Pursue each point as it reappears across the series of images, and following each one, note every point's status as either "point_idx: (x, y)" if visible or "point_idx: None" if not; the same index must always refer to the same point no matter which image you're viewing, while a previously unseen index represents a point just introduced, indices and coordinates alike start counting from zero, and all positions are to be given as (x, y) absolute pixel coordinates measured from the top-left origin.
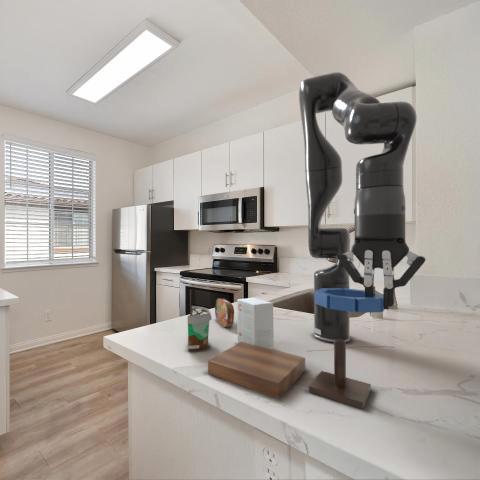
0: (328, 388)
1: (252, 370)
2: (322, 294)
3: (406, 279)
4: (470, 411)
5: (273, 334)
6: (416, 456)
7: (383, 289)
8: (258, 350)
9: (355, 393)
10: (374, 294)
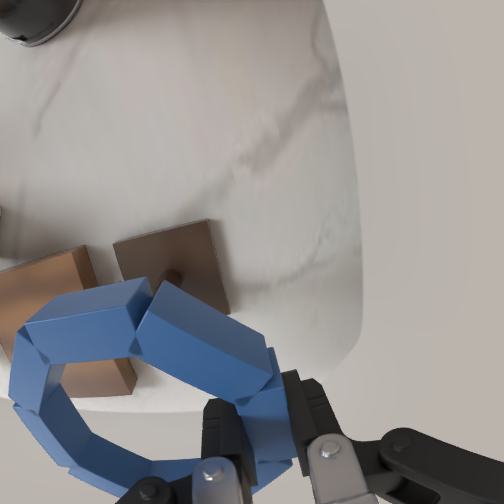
0: None
1: (79, 384)
2: (116, 495)
3: (415, 488)
4: (350, 159)
5: None
6: (315, 358)
7: (303, 475)
8: (13, 299)
9: (206, 290)
10: (247, 436)
